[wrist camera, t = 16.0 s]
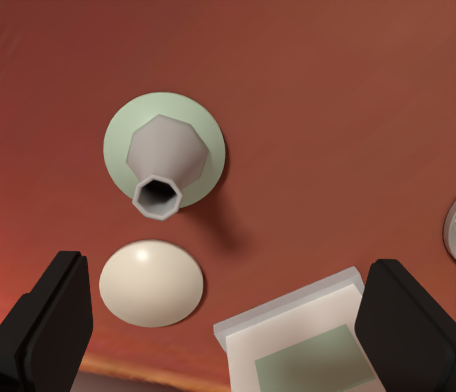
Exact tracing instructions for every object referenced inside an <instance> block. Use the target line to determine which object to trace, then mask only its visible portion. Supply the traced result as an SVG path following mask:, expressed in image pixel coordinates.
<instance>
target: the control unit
mask: <svg viewBox="0 0 456 392" xmlns="http://www.w3.org/2000/svg"><path fill="white" fill-rule="evenodd" d="M364 288H365V287H364V284H363V281H362V279H361V276H360V273H359V272H358V271H357V269H356V268H355V267H354V266H353V267H350V268H348V269H345V270H343V271H341V272H338V273H336V274H334V275H331V276H329V277H326V278H324V279H322V280H319V281H317V282H315V283H312V284H310V285H307V286H305V287H303V288H300V289H298V290H296V291H293V292H291V293H288V294H286V295H284V296H281V297H279V298H276V299H274V300H272V301H269V302H267V303H265V304H262V305H260V306H257V307H255V308H253V309H250V310H248V311H246V312H243V313H241V314H238V315H236V316H234V317H231V318H229V319H226V320H224V321H222V322H219V323H217V324H215V325H213V326H214V335H215V337H216V338H217V340H218V341H219V343H220V344H221V346H222V348H223V349H224V351H225V352H226V354H227V355H228V364H229V372H230V381H231V390H232V392H386V390H385V389H384V387H383V385H382V383H381V381H380V379H379V378H378V376H377V374H376V372H375V370H374V368H373V366H372V365H371V363H370V361H369V359H368V357H367V355H366V354H365V352H364V350H363V348H362V346H361V344H360V342H359V341H358V339H357V337H356V335H355V331H354V325H355V321H356V317H357V313H358V310H359V306H360V303H361V299H362V295H363V292H364Z"/></svg>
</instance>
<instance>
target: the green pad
mask: <svg viewBox="0 0 456 392" xmlns="http://www.w3.org/2000/svg"><path fill="white" fill-rule="evenodd" d="M158 114H161V115H164V116H167V117H170V118H173V119H177V120H180V121H183V122H186V123H189V124H191V125H192V127H193V128H194V129H195V131H196V132H197V133H198V135H199V136H200V138H201V139H202V140H203V142H204V143H205V144H206V146H207V147H208V149H209V152H208V155H207V158H206V161H205V164H204V167H203V170H202V173H201V176H200V178H199V179H198V180H196V181H195V182H193V183H192V184H190V185H189V186H187V187H186V188H184V189H183V190H182V192H183V193H184V195H183V198H182V201H181V204H180V207H179V208H182V207H186V206H188V205H191V204H193V203H195V202H197V201H199V200H200V199H202V198H203V197H205V196H206V195H207V194H208V193H209V192H210V191H211V190H212V189H213V188H214V186H215V185H216V183H217V182H218V180H219V178H220V176H221V174H222V171H223V168H224V163H225V144H224V140H223V136H222V133H221V131H220V128H219V126H218V124H217V122H216V120H215V119H214V118H213V116H212V115H211V114H210V113H209V112H208V111H207V110H206V108H204V107H203V106H202V105H201V104H199V103H198V102H196V101H195V100H193V99H191V98H189V97H187V96H184V95H181V94H178V93H172V92H153V93H148V94H144V95H142V96H139V97H137V98H135V99H133V100H132V101H130V102H129V103H127V104H126V105H125V106H123V107H122V108H121V109H120V110H119V111H118V112H117V113H116V115H115V116H114V117H113V119H112V120H111V122H110V124H109V126H108V128H107V131H106V134H105V139H104V159H105V163H106V167H107V169H108V172H109V174H110V176H111V177H112V179H113V181H114V182H115V184H116V185H117V186H118V187H119V188H120V189H121V190H122V192H124V193H125V194H126V195H127V196H128V197H130V198H131V199H133V197H134V194H135V190H136V186H137V184H138V183H139V180H138V179H137V177H136V176H135V174H134V173H133V171H132V170H131V169H130V168H129V166H128V165H127V164H126V159H127V155H128V151H129V147H130V143H131V139H132V134H133V132H135V131H136V130H137V129H139V128H140V127H141V126H143V125H144V124H146V123H147V122H148V121H150V120H151V119H152V118H154V117H155V116H157V115H158Z"/></svg>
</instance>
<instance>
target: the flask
mask: <svg viewBox="0 0 456 392" xmlns="http://www.w3.org/2000/svg"><path fill="white" fill-rule="evenodd" d="M208 152H209V149H208V147H207V146H206V144H205V143H204V142H203V140H202V139H201V138H200V136H199V135H198V133H197V132H196V131H195V129H194V128H193V127H192V125H191V124H189V123H186V122H183V121H180V120H177V119H173V118H170V117H167V116H164V115H161V114H158V115H157V116H155V117H154V118H152V119H151V120H150V121H148V122H147V123H146V124H144V125H143V126H141V127H140V128H139V129H137V130H136V131H135V132H133V134H132V139H131V143H130V147H129V151H128V155H127V159H126V164H127V165H128V166H129V168H130V169H131V170H132V171H133V173H134V174H135V176H136V177H137V179H138V180H139V183H138V184H137V186H136V190H135V194H134V197H133V201H132V203H133V204H134V206H135V207H136V208H137V209H138V210H139V211H140V212H141V213H142V214H143V216H144V217H148V218H152V219H156V220H159V221H165V220H166V219H168V218H169V217H171V216H172V215H174V214H175V213H177V212H178V210H179V207H180V204H181V201H182V198H183V195H184V193H183V192H182V190H183V189H184V188H186V187H187V186H189V185H190V184H192V183H193V182H195V181H196V180H198V179H199V178H200V176H201V173H202V170H203V167H204V164H205V161H206V158H207V155H208Z"/></svg>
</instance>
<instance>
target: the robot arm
mask: <svg viewBox="0 0 456 392" xmlns="http://www.w3.org/2000/svg"><path fill="white" fill-rule="evenodd" d="M443 237H444V242H445V246H446V248H447V250H448V252H449V253H450V254H451V255H452V257H453V258H454V259H456V201H455V202H454V204H453V205H452V207H451V209H450V211H449V213H448V215H447V217H446V221H445V225H444V236H443ZM92 331H93V315H92V305H91V294H90V284H89V273H88V263H87V257H86V256H81V253H80V252H79V251H59V252H58V253H57V255H56V256H55V258H54V259H53V261H52V262H51V263H50V265H49V266H48V268H47V269H46V271H45V272H44V273H43V275H42V276H41V278H40V279H39V281H38V282H37V283H36V285H35V286H34V288H33V289H32V290H31V292H30V293H26V294H23V295H22V296H21V297H20V299H19V300H18V301H17V303H16V304H15V305H14V307H13V308H12V309H11V311H10V312H9V314H8V315H7V316H6V318H5V319H4V320H3V322H2V323H1V325H0V392H70V390H71V387H72V384H73V382H74V379H75V377H76V374H77V371H78V369H79V366H80V364H81V361H82V358H83V356H84V353H85V351H86V348H87V345H88V343H89V340H90V338H91V335H92ZM354 331H355V335H356V337H357V339H358V341H359V342H360V344H361V346H362V348H363V350H364V352H365V354H366V355H367V357H368V359H369V361H370V363H371V365H372V366H373V368H374V370H375V372H376V374H377V376H378V378H379V379H380V381H381V383H382V385H383V387H384V389H385V390H386V392H456V322H455V321H454V320H453V319H452V318H451V317H450V316H449V315H448V314H447V313H446V312H445V310H444V309H443V308H442V307H441V306H440V305H439V304H438V303H437V302H436V301H435V300H434V299H433V298H432V297H431V295H430V294H429V293H428V292H427V291H426V290H425V289H424V288H423V287H422V286H421V285H420V284H419V283H418V282H417V280H416V279H415V278H414V277H413V276H412V275H411V274H410V273H409V272H408V271H407V270H406V269H405V268H404V267H403V265H402V264H401V263H400V262H399V261H397V260H395V259H378V260H377V261H376V262H375V263H373V264H372V265H371V267H370V270H369V274H368V277H367V281H366V285H365V288H364V292H363V295H362V299H361V303H360V306H359V310H358V313H357V317H356V321H355V325H354Z"/></svg>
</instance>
